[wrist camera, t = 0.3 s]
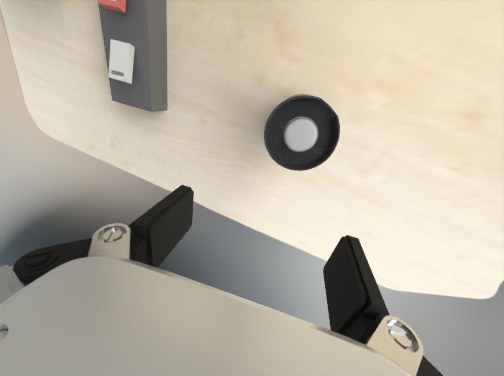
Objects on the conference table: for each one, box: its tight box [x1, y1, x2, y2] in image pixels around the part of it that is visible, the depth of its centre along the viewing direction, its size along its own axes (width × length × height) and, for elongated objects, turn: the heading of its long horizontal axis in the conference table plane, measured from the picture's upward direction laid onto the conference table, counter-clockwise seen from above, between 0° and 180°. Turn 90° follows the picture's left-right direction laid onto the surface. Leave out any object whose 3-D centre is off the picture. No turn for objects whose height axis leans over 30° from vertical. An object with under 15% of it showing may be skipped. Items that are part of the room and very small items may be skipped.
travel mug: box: [264, 94, 340, 171], centre depth 27 cm, size 8×8×20 cm
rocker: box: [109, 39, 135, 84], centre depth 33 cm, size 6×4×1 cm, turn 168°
